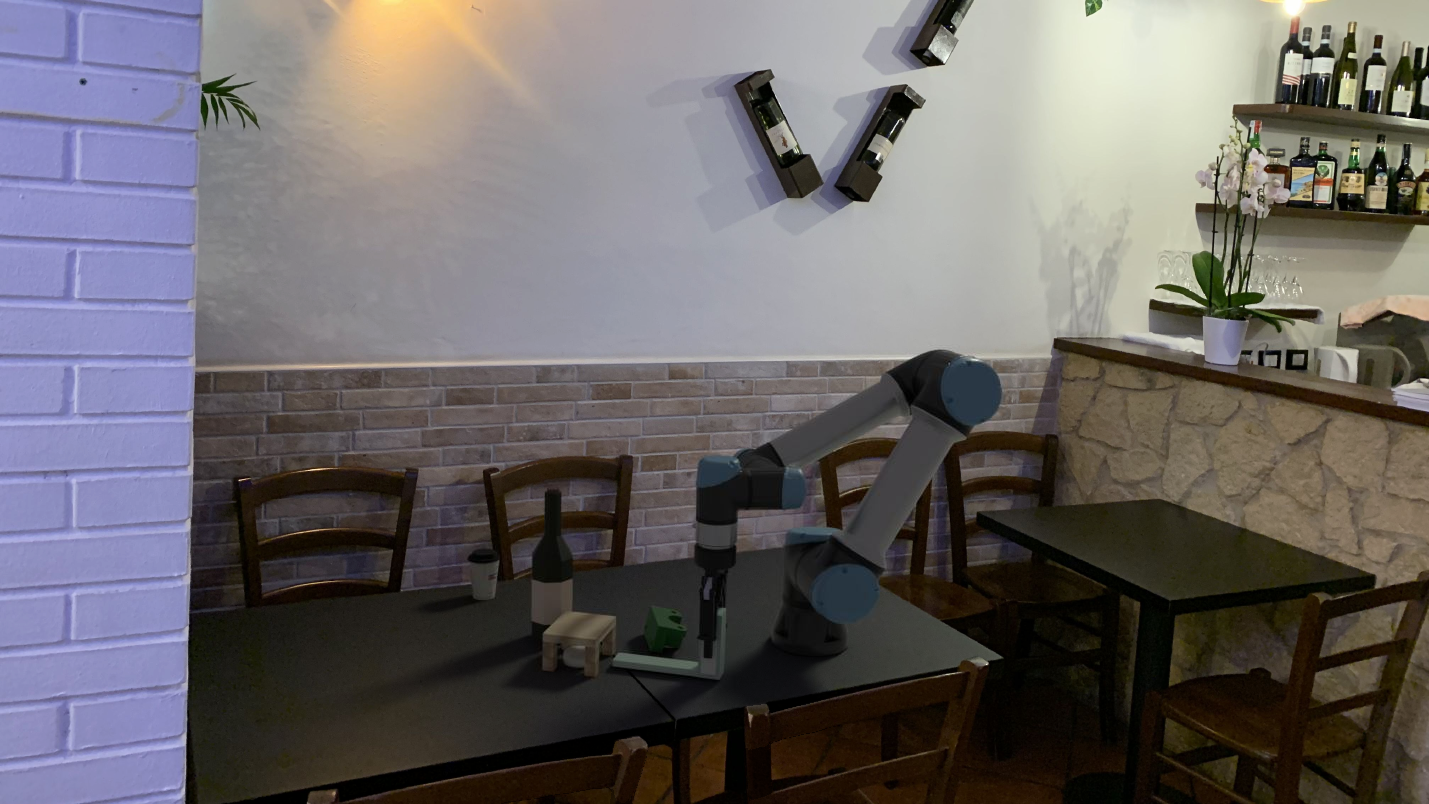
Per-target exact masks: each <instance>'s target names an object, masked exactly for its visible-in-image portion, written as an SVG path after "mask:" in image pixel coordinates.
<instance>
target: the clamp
mask: <svg viewBox="0 0 1429 804" xmlns="http://www.w3.org/2000/svg"><path fill="white" fill-rule="evenodd" d="M682 618H683V616H682V614H681V612H680V611H678V610H675V609H673V608H672V609H671V608H666V607H662V606H656V605H652V604H651V605H649V610H648V613H647V617H646V620H645V624H644V628H643V635H644V637H645V640H646V643H647V646H648V647H647V648H648V650H649V652H654V653H658V654H662V652H663V650H664V647H669V648H675V649H680V648H681V645H682V642H683V638H686V636H687V633H688V631H689V630H688V627H687V625H685V624H681V621H682Z"/></svg>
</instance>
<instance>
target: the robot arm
mask: <svg viewBox="0 0 1429 804" xmlns="http://www.w3.org/2000/svg"><path fill="white" fill-rule="evenodd" d="M1002 396H1003V387H1002V385H1001V379H1000V376H999V375H998V373H997V372H996V370H995V368H993V367H992V366H991V365H990V364H988V363H987V362H985V361H983V360H981V359H979V358H977V357H975V356H973V355H967V354H961V353H957V352H954V351H951V350H949V349H940V348H939V349H933V350H928V351H926V352H923V353H920V354H918V355H916V356H913V357H911V358H910V359H908V360H906V361H903V362H902V363H901V364H899V365H897V366H894V367H892V368H891V369H889V370H888V371H887V370H886V371H885V372H884V373H882V374H881V377H880V380H879V381H878V382H876V383H874V384H873V385H871V386H869V387H867V388H865V389H863V390H862V391H859V392H858V393H856V394H854V395H852V396H851V397H849V398H847V399H845V400H843V401H841V402H840V403H837V404H836V405H834V406H832V407H831V408H828V409H826V410H825V411H823V412H821V413H820V414H818V415H816V416H814V417H812V418H810V419H809V420H807V421H804V422H803V423H801V424H799V425H798V426H796V427H794V428H791V429H790V430H789V431H787V432H784V433H782V434H781V435H779V436H777V437H775V438H773V439H772V440H770V441H768V442H766V443H764V444H762V445H759V446H758V447H755V448H750V447H746V448H742V449H740V450H738V451H737V452H735V453H734V454H733V455H732V456H730V455H720V454H717V455H716V454H714V455H713V454H712V455H706V456H704V457H702V458H701V459H700V460H699V461H698V463H697V470H696V481H695V487H696V488H695V522H693V523H692V525H691V527H692V529H695V531H694V541H695V544H694V547H693V550H694V551H693V563H694V565H695V566H696V567H699V569H700V568H701V569H703V570H704V575H702V576H701V581H700V582H701V583H700V585H701V587H700V588H699V590H698V593H699V594H698V595H699V619H698V620H699V624H698V625H699V628H698V629H699V631H698V635H697V636H696V639H697V640H698V641H699V640H702V644H701V674H709V675H716V664H717V639H716V629H717V615H718V607H719V608H726V609H727V594H728V593H727V591H728V576H729V575H728V574H729V571H730V569H732V568H733V567H735V566H736V564H737V548H738V547H737V545H736V543H737V542H738V533H739V532H738V527H739V511H744V512H745V511H787V510H796V509H801V507H803V506H804V504H805V501H806V498H807V479H806V476H805V473H804V471H803V470H802V469H803V468H805V467H807V466H810V464H813V463H815V462H816V461H818V460H820V459H822V458H824V457H826V456H827V455H829V454H831V453H833V452H835V451H838V449H841V448H842V447H844V446H846V445H848V444H849V443H851V442H854V441H855V440H857V439H859V438H860V437H863V436H865V435H866V434H868V433H870V432H871V431H874V430H876V429H877V428H880V426H883V425H884V424H886V423H888V422H890V421H892V420H894V419H895V418H898V417H902V418H908V417H910V416H912V418H911V421H910V422H909V423H908V426H906V429H905V430H904V432H903V433H902V435H901V437H900V438H899V440H898V442H897V443H896V444H895V447H894V448H893V449H892V451H891V453H890V454H889V456H888V457H887V460H886V461H885V463H884V464H883V466H882V467H881V469H880V470H879V472H878V474H877V475H876V477H875V478H874V480H873V482H872V483H871V486H870V487H869V488H868V490H867V492H866V493H865V495H864V497H863V498H862V500H861V501H860V503H859V504H858V506H857V508H856V510H855V511H854V513H852V516H851V518H850V519H849V521H848V523H847V524H846V526H845V527H844V528H843V529H839V528H835V527H830V526H829V527H827V526H799V527H793V528H791V529H789V530H788V531H787V532H786V533H785V538H784V544H783V546H782V547H783V569H782V593H781V596H782V597H781V604H780V606H779V609H778V611H777V614H776V616H775V618H774V621H773V623H772V627H771V636H770V637H771V642H772V645H774V646H775V647H776V648H778V649H780V650H782V651H785V652H787V653H790V654H794V655H800V656H807V657H825V656H832V655H836V654H839V653H842V652H843V651H845V650H846V649H847V648H848V646H849V631H848V627H847V625H849V624H852V623H857V622H860V621H861V620H863V619H865V618H866V617H867V616H869V615H870V614H871V613H872V612H873V611H874V609H875V608H876V606H877V605H878V601H879V598H880V593H881V592H880V586H879V580H880V579H881V577H882V575H883V574H884V572H885V571H886V569H887V561H886V558H885V555H886V553H887V551H888V550H889V548H890V546H891V545H892V543H893V542H894V540H895V539H896V536H897V535H898V533H899V532H900V530H901V528H902V527H903V525H904V524H905V522H906V520H907V519H908V518H909V516H910V515H911V512H912V510H913V509H914V508H915V506H916V504H917V503H918V501H919V500H920V498H921V496H922V495H923V493H924V492H925V490H926V489H927V487H928V485H929V483H930V482H931V480H932V478H933V477H934V476H935V474H936V472H937V470H938V469H939V467H940V465H941V464H942V463H943V461H944V459H945V457H947V454H948V453H949V451H950V449H951V448H952V447H953V445H954V444H956V443H958V442H961V441H966V439H967V438H968V437H969V436H970V434H971V433H972V431H973V429H974V427H975V426H978V425H981V424H983V423H986V422H988V421H989V420H990V419H992V418H993V416H994V415H995V414H996V413H997V411H998V409H999V407H1000V405H1001V402H1002ZM726 629H728V623H727V622H726Z"/></svg>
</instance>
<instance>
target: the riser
mask: <svg viewBox="0 0 1429 804" xmlns="http://www.w3.org/2000/svg"><path fill="white" fill-rule="evenodd" d="M616 635H617V616H614V615H606V614H597V613H590V612H589V613H588V612H579V611H573V610H572V611H565V612H564V613H563V614H562V615H561V616H560V617H559V618H558V619H557V620H556V621H555V622H554V623H553V624H552V625H551V626H550V627H549V628H548V629H547V630H546V631H545V632H544V633H543V645H542V671H547V672H555V670H556V669H557V668H558V645H557V643H560V644H562V645H561V650H562V651H564V650H565V649H567V648H569V647H572V646H585V667H584V676H586V677H593V678H595V677H596V676H597V675H598V674H599V673H600V672H599V671H600V670H599V668H600V665H599V664H600V643H601V654H602V655H603V656H604V655H605V656H614V654H615V653H616V646H617V645H616V638H617V636H616Z"/></svg>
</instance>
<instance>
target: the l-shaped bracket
mask: <svg viewBox="0 0 1429 804" xmlns="http://www.w3.org/2000/svg"><path fill="white" fill-rule="evenodd" d="M726 623H727V607H726V608H719V607H718V615H717V629H716V639H717V664H716V675H709V674H701V644H702V640H699V639H698V655H697V657H698V658H697V661H698V662H697V661H691V660H684V659H675V658H669V657H668V658H667V657H658V656H650V655H641V654H633V653H624V652H618V653H617V654H616V655H615V657H613V659H612V667H615V668H623V669H624V668H625V669H631V670H632V669H633V670H639V671H641V670H642V671H649V672H656V673H665V674H673V675H679V676H680V675H682V676H689V677H697V678H703V679H710V680H719V681H720V680H721V678H722V676H723V674H724V672H725V659H726V658H725V657H726V654H725V653H726V631H727V628H726Z"/></svg>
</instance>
